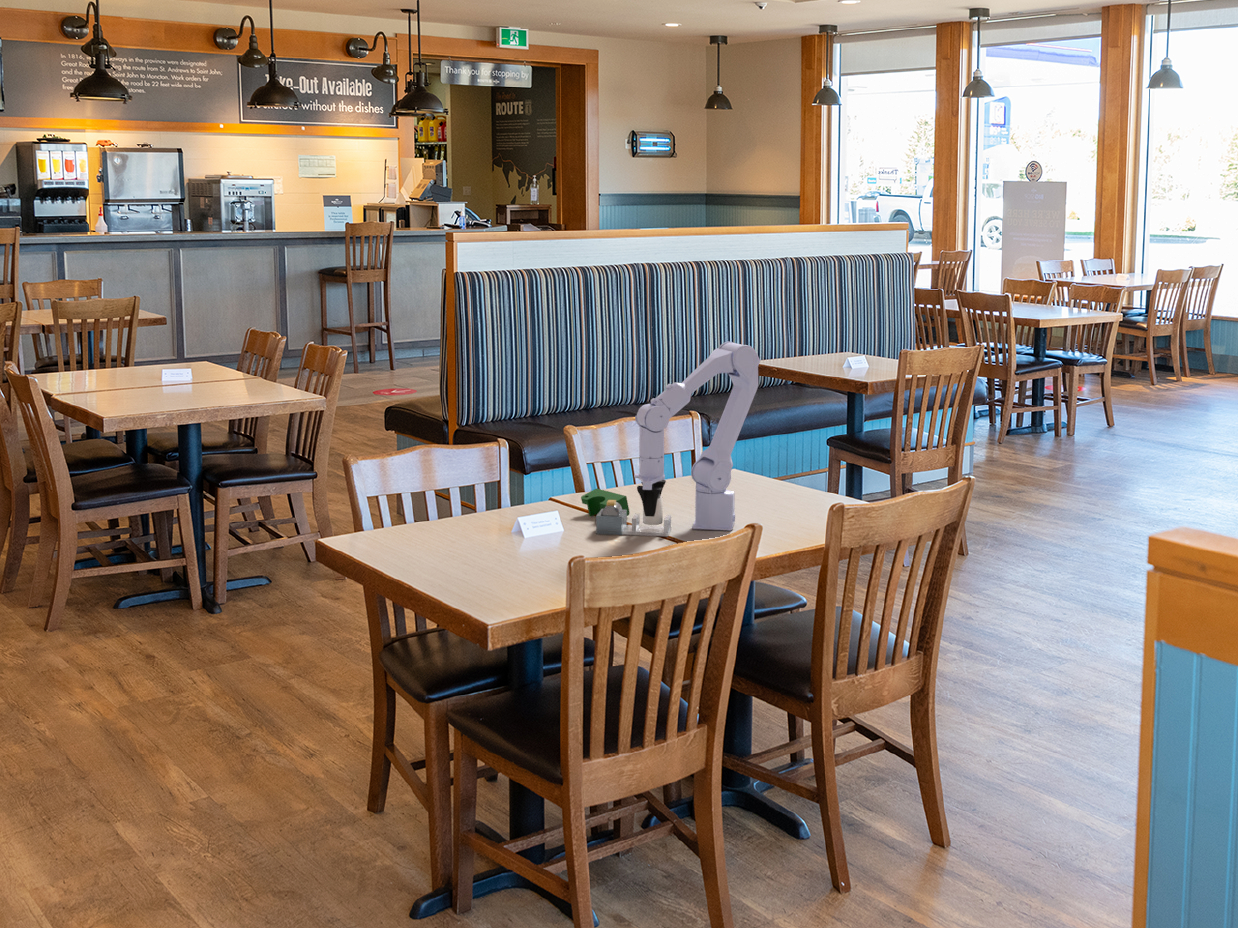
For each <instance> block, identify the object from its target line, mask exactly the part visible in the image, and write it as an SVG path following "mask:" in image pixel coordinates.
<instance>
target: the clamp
mask: <svg viewBox="0 0 1238 928" xmlns="http://www.w3.org/2000/svg"><path fill="white" fill-rule="evenodd" d="M580 500H581V503H582V504H583V505H585V506H587V511H588V516H589V517H593V516H595V515H597V514H598V513H599V512H600V510H601V509H604V508H605V507H606V505H607V501H608V500H616V502H618V503H619V504H620V505H621V507H622V509H623V510H627V517H628V516H629V515H630V508H629V503H628V498H627V495H624V494H621V493H615V492H612V491H609V490H605V489H600V488H595V489H593V490H590V491H589V492H586V493H585V494H583V495H581V497H580Z"/></svg>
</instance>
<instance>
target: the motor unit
mask: <svg viewBox="0 0 1238 928" xmlns="http://www.w3.org/2000/svg"><path fill="white" fill-rule="evenodd" d="M595 515H596V516H595V522H596V523H595V525H596V528H595V529H596V530H595V531H596V533H595V534H596V535H611V536H624V535H625V536H627V535H628V536H645V537H646V536H649V537H650V536H651V537H669V535H670V533H671V531H672V515H671V514H666V516H665V517H664V519H663V525H641V524H640V513H635V514H633V516H632V518H631V524H628V521H627V520H628V518H627V517H628V516H627V510H623V509H622V507H621V505H620V504H619V503H618V502H616V500H608V501H607V505H606V507H605V508H604V509H601V510H600V512H599V513H598V514H595Z"/></svg>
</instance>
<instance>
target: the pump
mask: <svg viewBox="0 0 1238 928" xmlns="http://www.w3.org/2000/svg"><path fill="white" fill-rule="evenodd" d="M663 500H664V499H663V496H662V495H661V496H660V494H659V496H658V500H657V505H656V512H655V515H654V517H652V516H645V513H644V508H643V510H642V513H643V514H642V515H643V518H642V520H643V521H642V523H643V524H644V525H647V526H660V525H662V524H663V509H664V508H663V506H664V505H663V502H664V501H663Z"/></svg>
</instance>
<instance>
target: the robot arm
mask: <svg viewBox="0 0 1238 928" xmlns="http://www.w3.org/2000/svg"><path fill="white" fill-rule="evenodd" d="M760 362H761V359H760V358H759V355H758V353H757V351H756V349H755V348H753V346H751V345H747V344H740V343H736V342H733V341H725V342H723V343H721V344H720V345H719V346H718V347H717V348H715V349H714V350H712V352H711V353H710V354H709V356H708V357H707V358H706V359H705V360H703V362H702V363H701V364H700V365H698V366H697V368H695V369H694V370H693V371H692V372H691V373H689V375H688V376H687V377H686V378H685V379H684V380H683V381H682V382H673V383H672V384H671V383H668V384H667V385H665V390H664V391H661V393H660V394H659V395H658V396H656V397H655V398H654V397H652V399H650V403H647V404H643V405H641V406H640V407H639V408H638V410H637V412H636V415H635V416H634V418H635V423H636V424H637V425H638V427H639V446H638V447H639V458H638V459H639V468H638V471H639V473H635V474H634V475H633V476H634V479H639V480H640V482H641V485H637V486H636V490H637V493H638V494H639V496H640V499H641V503H642V507H643V508H644V513H645V516H652V517H654V515H655V512H656V505H657V500H658V496H659V494H660V496H661V497H662V493H663V489H664V487H665V485H666V483H667V480H666V478H665V476H666V475H665V429H666V428H667V427H668V425H669V422H670V419H671V418H672V417H674V416H675V415H676V414H677V413H678V412H679V411H680V410H682V409H683V408H684V407H685V406H686V405H688V404H689V403H690V401H691V398H692V394H693V393H694V392H695V391H697V390H698V389H699V388H701V387H702V386H704V384H706V383H707V382H708V381H709V380H711V379H712V378H714V377H715V376H716V375H718V374H728V376H729V378H730V380H731V382H732V384H733V387H732V389H731V391H730V395H729V397H728V399H727V402H726V404H725V407H724V410H723V412H722V415H721V417H720V419H719V422H718V424H717V427H716V429H715V432H714V434H713V436H712V439H711V442H710V444H709V446H708V447H707V448H706V449H704V450H702V452H701V454H700V456H699V457H698V459H697V460H696V461H695V462H694V464H692V467H691V471H690V475H691V478H692V480H693V481H694V482H695V502H694V503H695V505H694V506H695V507H694V508H695V511H694V512H695V515H694V521H693V524H692V526H691V529H692V530H708V531H709V530H710V531H711V530H713V531H732V530H733V529H734V528H733V527H734V525H735V522H736V514H735V511H736V510H735V509H736V508H735V502H736V501H735V500H736V498H735V497H736V496H735V495H736V493H735V491H734V490H729V489H727V488H728V487H729V486H730V484H731V481H732V469H733V466H734V462H733V460H732V459H733V458H732V453H733V450H734V448H735V446H736V443H737V440H738V438H739V435H740V432H741V430H742V428H743V425H744V422H745V420H746V418H747V415H748V413H749V410H750V408H751V405H752V403H753V401H754V398H755V396H756V393H757V390H758V388H759V364H760Z"/></svg>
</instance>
